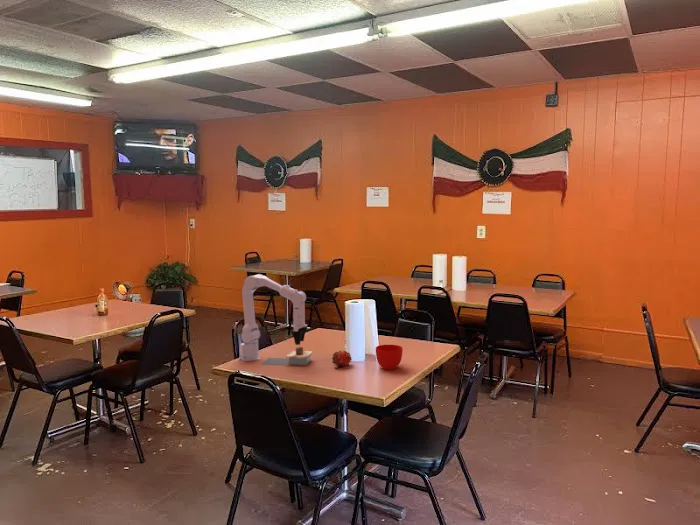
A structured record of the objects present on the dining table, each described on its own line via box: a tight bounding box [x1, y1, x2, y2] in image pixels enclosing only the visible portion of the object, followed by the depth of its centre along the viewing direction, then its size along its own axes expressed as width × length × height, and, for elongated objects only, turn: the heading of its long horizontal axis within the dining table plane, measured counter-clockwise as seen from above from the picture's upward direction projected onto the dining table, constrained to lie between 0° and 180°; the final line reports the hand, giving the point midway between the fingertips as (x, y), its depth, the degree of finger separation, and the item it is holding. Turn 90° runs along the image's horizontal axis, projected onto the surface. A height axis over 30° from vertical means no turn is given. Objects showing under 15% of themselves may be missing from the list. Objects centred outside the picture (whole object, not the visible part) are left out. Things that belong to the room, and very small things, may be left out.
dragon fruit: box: [331, 350, 352, 368], centre depth 267 cm, size 8×8×12 cm
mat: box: [260, 357, 289, 366], centre depth 275 cm, size 13×13×1 cm
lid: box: [285, 346, 313, 358], centre depth 273 cm, size 11×11×4 cm
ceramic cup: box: [375, 344, 403, 371], centre depth 264 cm, size 13×17×10 cm
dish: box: [288, 354, 312, 366], centre depth 273 cm, size 9×9×4 cm
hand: (299, 342), depth 273 cm, fingers open, 7 cm apart
